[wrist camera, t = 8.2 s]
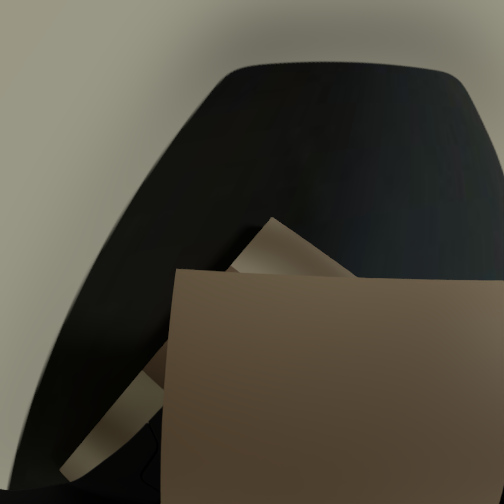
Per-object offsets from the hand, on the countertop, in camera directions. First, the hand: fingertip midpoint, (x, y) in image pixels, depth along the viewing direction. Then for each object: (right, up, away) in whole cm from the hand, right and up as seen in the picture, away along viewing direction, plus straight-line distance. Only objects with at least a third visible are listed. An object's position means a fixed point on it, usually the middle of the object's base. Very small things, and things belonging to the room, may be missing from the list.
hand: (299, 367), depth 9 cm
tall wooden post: (0, -4, +6) cm, 7 cm away
